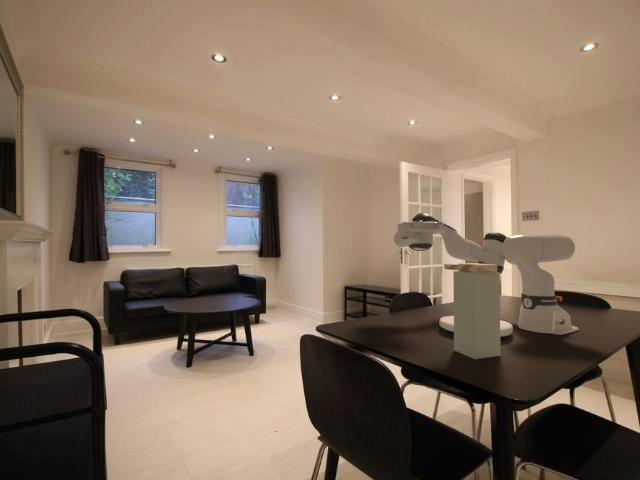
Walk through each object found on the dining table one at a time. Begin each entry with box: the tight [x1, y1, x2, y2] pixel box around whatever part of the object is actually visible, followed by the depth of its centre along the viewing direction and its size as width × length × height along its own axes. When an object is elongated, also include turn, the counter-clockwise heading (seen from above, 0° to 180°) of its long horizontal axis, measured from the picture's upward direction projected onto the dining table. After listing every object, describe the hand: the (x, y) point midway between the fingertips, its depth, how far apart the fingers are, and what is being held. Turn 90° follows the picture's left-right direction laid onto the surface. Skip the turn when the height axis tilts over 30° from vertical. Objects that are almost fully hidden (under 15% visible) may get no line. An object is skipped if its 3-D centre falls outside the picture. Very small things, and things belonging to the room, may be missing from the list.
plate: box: [438, 315, 514, 338], centre depth 131 cm, size 28×6×27 cm
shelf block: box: [452, 270, 502, 360], centre depth 106 cm, size 10×9×26 cm
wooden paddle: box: [443, 262, 497, 273], centre depth 110 cm, size 18×7×2 cm, turn 19°
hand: (431, 222), depth 140 cm, fingers open, 8 cm apart
